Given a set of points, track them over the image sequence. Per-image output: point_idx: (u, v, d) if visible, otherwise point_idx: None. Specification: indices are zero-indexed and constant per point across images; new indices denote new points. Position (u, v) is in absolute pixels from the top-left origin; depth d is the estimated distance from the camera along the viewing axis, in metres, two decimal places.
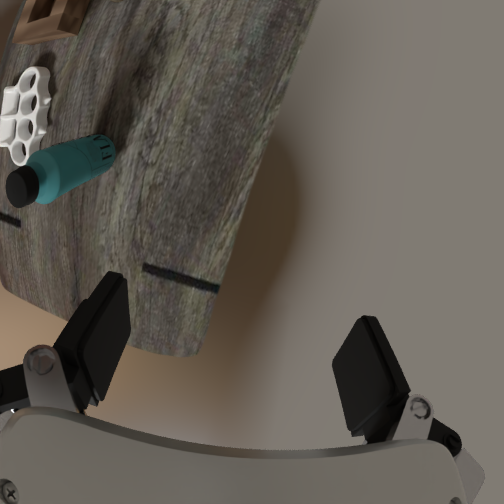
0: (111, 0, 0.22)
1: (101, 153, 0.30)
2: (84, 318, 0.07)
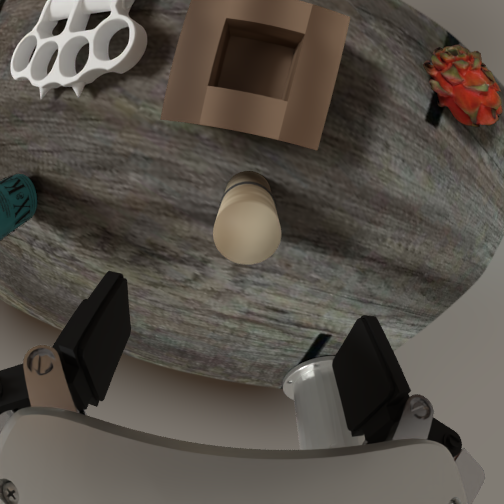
0: (227, 185, 0.25)
1: None
2: (84, 318, 0.07)
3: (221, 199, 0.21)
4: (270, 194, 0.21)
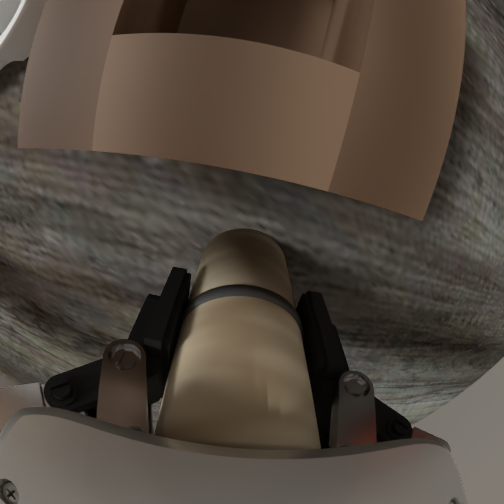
0: None
1: None
2: (163, 311, 0.08)
3: None
4: (293, 316, 0.09)
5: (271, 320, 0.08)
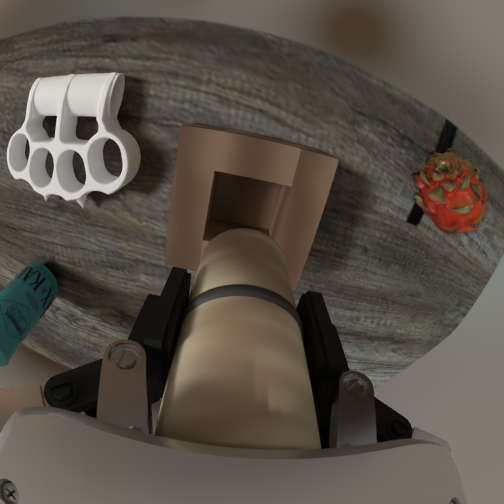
0: (200, 260, 0.13)
1: None
2: (164, 311, 0.08)
3: None
4: (293, 315, 0.09)
5: (271, 320, 0.08)
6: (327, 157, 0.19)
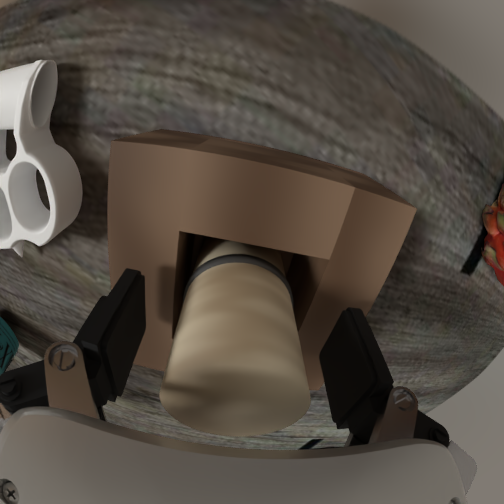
0: (203, 241, 0.14)
1: None
2: (106, 314, 0.07)
3: (185, 290, 0.11)
4: (283, 281, 0.11)
5: (264, 281, 0.10)
6: (399, 204, 0.09)
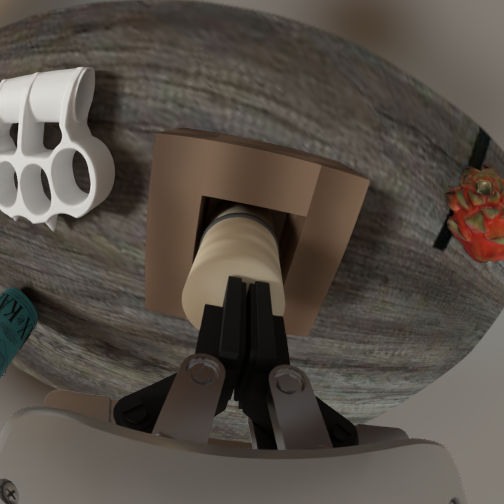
0: None
1: None
2: (233, 322, 0.08)
3: (201, 238, 0.15)
4: (271, 232, 0.15)
5: (257, 228, 0.14)
6: (355, 177, 0.14)
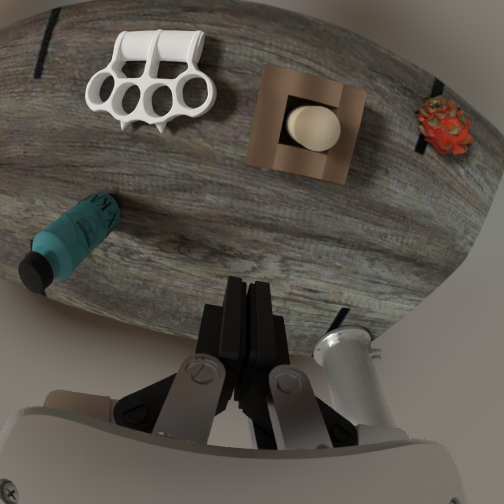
0: (285, 114, 0.30)
1: None
2: (233, 322, 0.08)
3: (288, 116, 0.26)
4: None
5: None
6: (359, 90, 0.25)
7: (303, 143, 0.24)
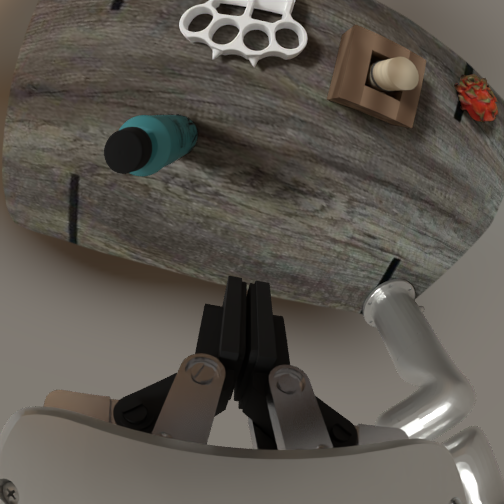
0: None
1: None
2: (233, 322, 0.08)
3: (373, 65, 0.26)
4: None
5: None
6: (421, 57, 0.25)
7: (394, 81, 0.24)
